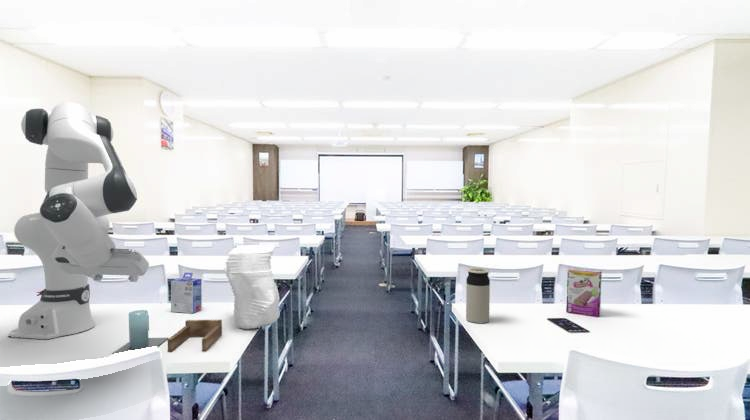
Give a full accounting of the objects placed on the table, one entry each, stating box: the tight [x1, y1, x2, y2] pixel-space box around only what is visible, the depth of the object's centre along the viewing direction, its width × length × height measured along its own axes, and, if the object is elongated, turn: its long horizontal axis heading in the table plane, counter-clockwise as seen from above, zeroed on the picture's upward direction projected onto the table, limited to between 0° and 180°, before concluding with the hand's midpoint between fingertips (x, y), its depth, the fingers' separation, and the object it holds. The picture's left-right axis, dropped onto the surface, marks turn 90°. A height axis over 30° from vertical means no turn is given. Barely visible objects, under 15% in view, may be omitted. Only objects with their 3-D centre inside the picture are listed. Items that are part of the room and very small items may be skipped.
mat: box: [110, 337, 169, 354], centre depth 117 cm, size 10×14×1 cm
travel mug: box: [465, 267, 491, 324], centre depth 143 cm, size 8×8×18 cm
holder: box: [167, 319, 223, 353], centre depth 121 cm, size 11×13×5 cm
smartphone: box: [546, 317, 591, 334], centre depth 138 cm, size 8×1×15 cm
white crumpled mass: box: [223, 243, 281, 330], centre depth 140 cm, size 21×27×26 cm
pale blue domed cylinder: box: [128, 309, 150, 350], centre depth 118 cm, size 5×7×10 cm
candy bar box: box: [565, 267, 603, 318], centre depth 151 cm, size 11×5×16 cm, turn 58°
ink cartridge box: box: [170, 271, 203, 314], centre depth 154 cm, size 10×6×14 cm, turn 78°
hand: (117, 279), depth 109 cm, fingers open, 8 cm apart
